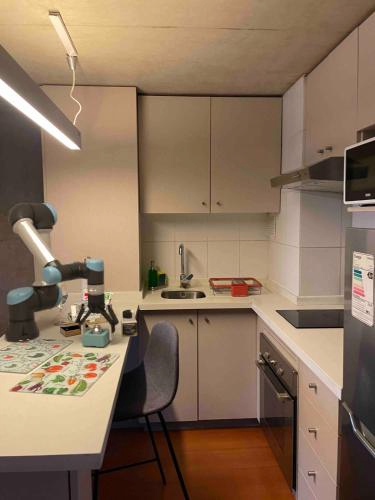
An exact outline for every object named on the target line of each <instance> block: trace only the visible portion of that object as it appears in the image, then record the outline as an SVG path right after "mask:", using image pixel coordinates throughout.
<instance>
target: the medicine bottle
mask: <svg viewBox="0 0 375 500" xmlns="http://www.w3.org/2000/svg"><path fill="white" fill-rule="evenodd" d="M121 315H122V318H121V319H120V333H121V335H122V337H123V338H125V337H136V336H138V321H137V319H136V311H135V310H133V309H125V310H123V311H122V314H121Z"/></svg>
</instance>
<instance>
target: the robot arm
mask: <svg viewBox="0 0 375 500" xmlns="http://www.w3.org/2000/svg"><path fill="white" fill-rule="evenodd" d="M8 213H9V214H8V216H7V217H8V218H7V219H8V224H9V226H10V228H11V230H12V231H13V233H15V234H16V235H17V234H18V236H19V238H21V240H22V241H23V243H24V244H25V245H26V247H27V249H28V250H29V251H30V253H31V254H32V255H33V267H34V281H33V283H32V284H31V285H32V287H31V286H25V287H19V288H14V289H12V290H10V291H8V294H7V296H6V305H7V319H8V321H7V322H8V323H7V326H6V330H5V334H4V337H5V338H4V340H5V339H7V340H10V341H19V340H27V339H31V340H34V339H36V338H39V336H40V329H39V327H38V325H37V322H36V320H35V313H39V312H42V311H46V310H52V309H54V308H56V307H58V306H59V305H60V304H61V303H62V301H63V296H64V295H63V290H62V288H61V286H60V285H59V283H64V282H69V281H73V280H75V281H76V280H79V279H82V280H86V285H87V286H86V287H87V303H86V302H83V303H81V304H80V309H79V312H78V314H77V316H76V318H75V321H74V323H75V324H78V327H79V332H81V335H80V337H81V339H82V335H83V334H84V333H85V332H86V323H85V322H86V320H87V318H89V316H91V314H92V315H95V314H97V315H101V316H103V318H104V319H105V320H106V322H107V323H108V324H109V328H108V329H109V334H110V341H113V339H114V334H115V332H116V326H118V325H119V323H120V322H119V321H120V320H119V319H118V316H117V315H116V313H115V311H114V309H113V304H112V303H108V304H106V297H105V291H106V289H105V265H104V260H103V259H101V258H90V259H87V260H86V262H82V261H81V262H80V261H71V262H70V263H65V264H62V263H61V262H60V260H59V259H58V258H57V256H56V255H55V254H54V253H53V251H52V242H51V241H52V240H51V239H52V238H51V233H52V231H53V230H54V226H55V225H56V224H57V222H58V214H57V211H56V209H55V208H54V207H53V205H51V204H50V203H46V202H45V203H44V202H35V203H34V202H20V203H17V204H15V205H14V206H13V207H12V208H11V209H10V211H9V212H8ZM86 308H88V310H87V312H86V313H85V310H86ZM105 308H106V309H105ZM107 312H108V313H109V314H108V313H107ZM84 314H85V315H84ZM83 315H84V316H83ZM33 338H34V339H33ZM7 340H6V341H7ZM10 341H9V342H10ZM27 341H28V340H27ZM110 341H109V342H110Z"/></svg>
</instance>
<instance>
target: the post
mask: <svg viewBox="0 0 375 500" xmlns="http://www.w3.org/2000/svg"><path fill="white" fill-rule="evenodd" d="M92 328H93V334H102V326H101V325H100V324H94V325H93V327H92Z"/></svg>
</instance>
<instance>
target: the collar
mask: <svg viewBox="0 0 375 500" xmlns="http://www.w3.org/2000/svg"><path fill="white" fill-rule="evenodd" d="M81 342H82V343H81V344H82V346H83V347H90V346H96V347H95V348H104V347H105V346H106V345H107V344H109V343H110V334H109V328H102V334H93V327H91V328H89V329H88V330H86V331H85V333H84V334H83V335H82V338H81Z"/></svg>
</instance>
